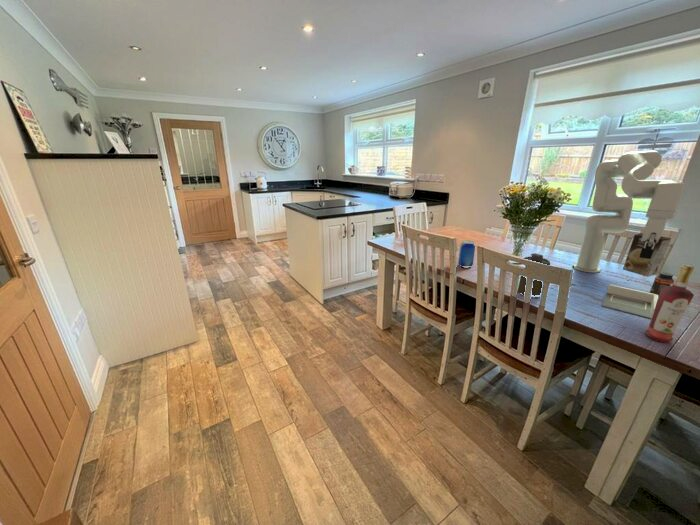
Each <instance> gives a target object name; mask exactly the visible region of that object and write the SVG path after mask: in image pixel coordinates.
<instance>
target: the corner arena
mask: <svg viewBox="0 0 700 525" xmlns="http://www.w3.org/2000/svg"><path fill="white" fill-rule="evenodd" d="M657 300H658V295H657V294H653V293H650V292H648V291H643V290H638V289H634V288H628V287H624V286H619V285H615V284H608V287H607V291H606V293H605V297H604V299H603V301H602V304H601V307H602V308H607V309H610V310H615V311H619V312H623V313H627V314H631V315H634V316H638V317H640V318H641V317H642V318H646V319H650V320H651V319H652V316H653V313H654V310H655V307H656V303H657Z"/></svg>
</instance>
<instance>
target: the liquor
mask: <svg viewBox="0 0 700 525" xmlns="http://www.w3.org/2000/svg"><path fill="white" fill-rule="evenodd" d="M694 268H695V267H694V266H692V265H688V264H681V266H680V268H679V273H678V276H676V279H675V280H674V283H673V286H666V287H662V288H661V291H660V294H659V297H658V300H657V303H656V307H655V310H654V313H653V316H652V319H650V323H649V325H648V328H647V329H645V331H644V333H645V335H647V336H648V338H650V339H651V338H652V339H651V340H653V339H654V340H653V341H656V340H657V341H656V342H659V341H661V342H660V343H667V342H673V340H674V339H673V335H674V334H675V332H676V329H677V327H678V326H679V323H680V321H681V320H682V318H683V317H684V315H685V313H686V311H687V309H688V307H689V306H690V303H691V302H692V300H693V298H694V296H695V295H694V293H693V292H692V291H691V290H689V289H687V286H688V283H689V279H690V276H691V275H692V273H693V271H694Z"/></svg>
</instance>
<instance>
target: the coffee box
mask: <svg viewBox="0 0 700 525" xmlns="http://www.w3.org/2000/svg"><path fill="white" fill-rule="evenodd" d="M642 234H643V232H641V233H637V234H634V236H633V238H632V242H631V245H630V247H629V250H628V253H627V255H626V259H625V262H624V264H623V268H622V270H623V271H627V272H630V273H633V274H637V275H640V276H644V277H647V278H648V277H649V278H650V277H652V276H656V275H657V274H658V272H659V269H660V267H661V265H662V262H663V259H664V257H665V254H666V253H667V252H666V251H667V250H668V247H669V244H670V242H671V240H672V238H671V237H666V236H662V235H661V238H660V239H659V241H658V243H656V244H655V246H654V251H653V253H652V256H651V258H650V259H646V258H640V254H641V251H642V248H644V245H645V241H643V242H641V238H642ZM650 236H651V235H650ZM647 241H649V240H647ZM654 241H657V240H656V239H654Z"/></svg>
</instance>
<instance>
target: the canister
mask: <svg viewBox="0 0 700 525" xmlns="http://www.w3.org/2000/svg"><path fill="white" fill-rule="evenodd" d="M530 255H531V256H525V257H523V259H528V260H532V261H536V262H540V263H543V264H547V265H550V266H551V262H550V260H548V259H546V258H544V255H542V254H539V253H532V254H531V253H530ZM525 285H526V278H525V277H523V276H521V275H520V278H519V283H518V287H517V290H518V292H517V293H518V294H519V293H522V294H523V295H524V292H525ZM541 288H542V282H541V281H537V280H534V281H533V288H532V295H534V296H535V295H540V293H541ZM523 295H522V296H523Z"/></svg>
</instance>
